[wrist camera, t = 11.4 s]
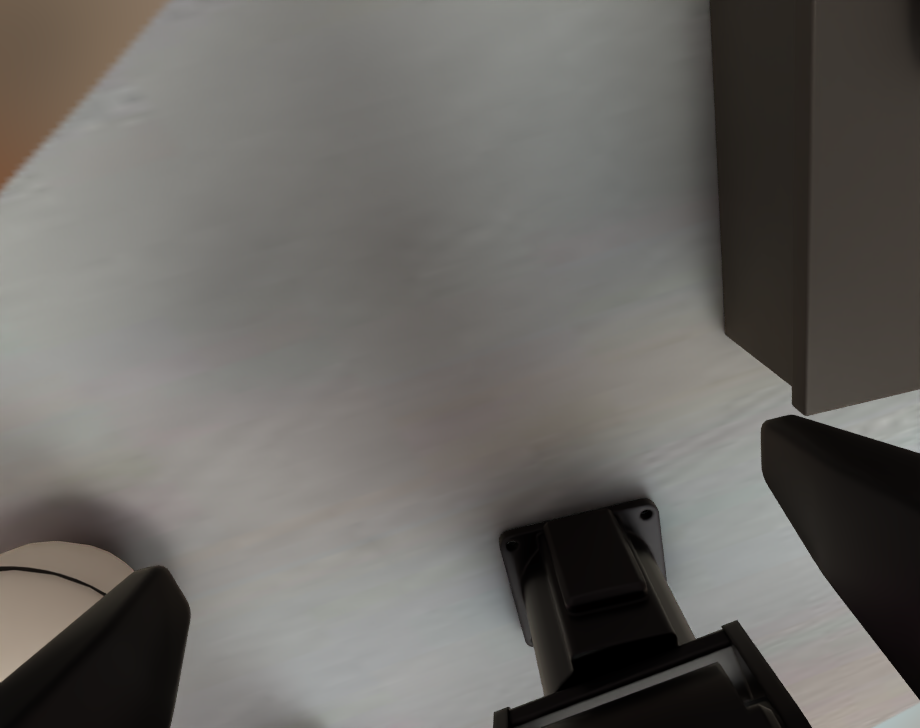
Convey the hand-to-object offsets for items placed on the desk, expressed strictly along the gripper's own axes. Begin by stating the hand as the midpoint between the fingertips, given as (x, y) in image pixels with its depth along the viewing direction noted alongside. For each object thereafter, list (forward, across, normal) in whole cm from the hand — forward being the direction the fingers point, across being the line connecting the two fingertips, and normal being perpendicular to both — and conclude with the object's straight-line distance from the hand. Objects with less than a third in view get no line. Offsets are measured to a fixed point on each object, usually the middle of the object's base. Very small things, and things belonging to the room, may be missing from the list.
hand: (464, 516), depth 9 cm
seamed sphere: (+12, +17, +7) cm, 22 cm away
